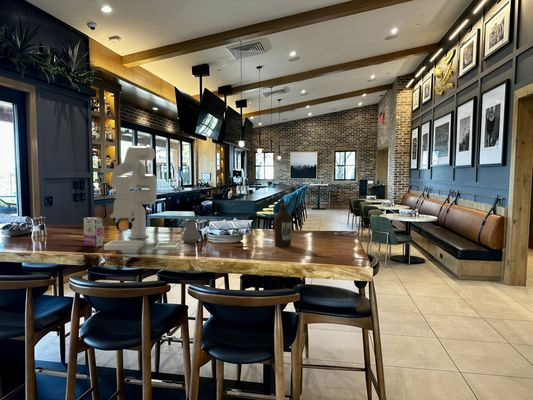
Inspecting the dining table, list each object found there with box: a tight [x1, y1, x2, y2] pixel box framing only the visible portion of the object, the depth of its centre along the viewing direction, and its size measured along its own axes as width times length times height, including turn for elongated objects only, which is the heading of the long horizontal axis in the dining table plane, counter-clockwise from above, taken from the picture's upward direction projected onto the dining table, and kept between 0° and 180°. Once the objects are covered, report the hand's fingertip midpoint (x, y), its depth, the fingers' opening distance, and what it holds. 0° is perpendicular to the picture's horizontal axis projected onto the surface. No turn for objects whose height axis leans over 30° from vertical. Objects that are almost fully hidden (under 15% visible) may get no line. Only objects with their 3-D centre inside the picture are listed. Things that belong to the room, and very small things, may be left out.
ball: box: [118, 220, 129, 232], centre depth 197 cm, size 6×6×6 cm
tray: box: [151, 242, 182, 251], centre depth 199 cm, size 13×14×1 cm
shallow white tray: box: [103, 239, 145, 251], centre depth 197 cm, size 12×18×3 cm, turn 94°
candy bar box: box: [83, 216, 104, 248], centre depth 202 cm, size 11×5×16 cm, turn 62°
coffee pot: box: [181, 214, 201, 244], centre depth 220 cm, size 21×12×15 cm, turn 176°
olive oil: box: [273, 203, 293, 249], centre depth 202 cm, size 11×11×25 cm
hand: (124, 228), depth 197 cm, fingers closed on ball, 5 cm apart
